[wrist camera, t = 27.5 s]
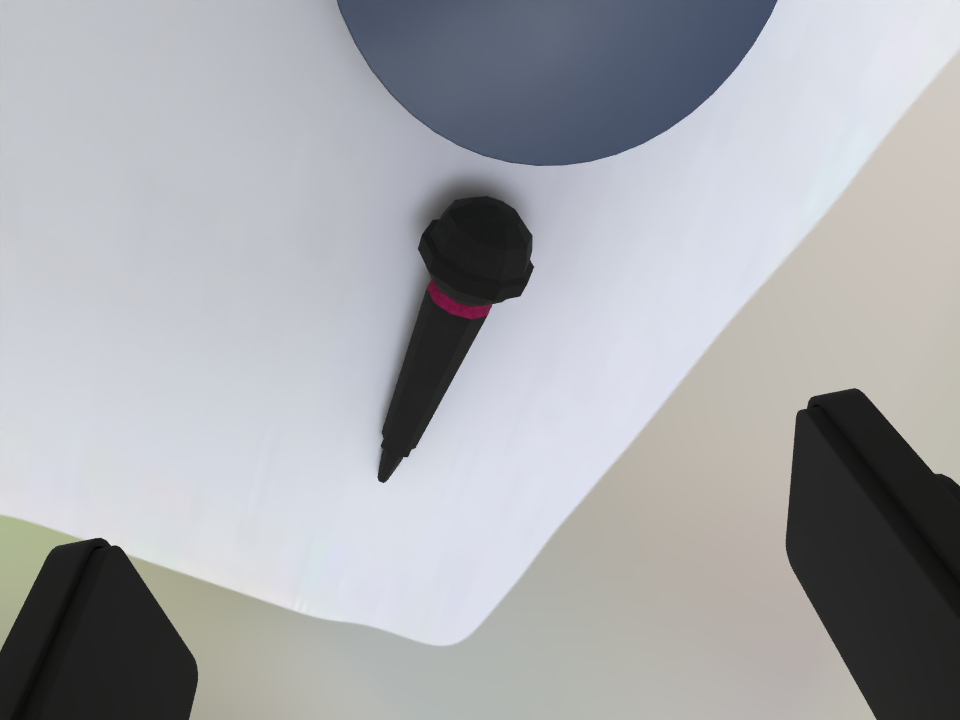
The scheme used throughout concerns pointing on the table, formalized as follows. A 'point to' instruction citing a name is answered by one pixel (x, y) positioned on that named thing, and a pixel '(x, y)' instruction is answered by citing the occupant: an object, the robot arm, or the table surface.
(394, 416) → the microphone
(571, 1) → the tin lid
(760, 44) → the table surface
